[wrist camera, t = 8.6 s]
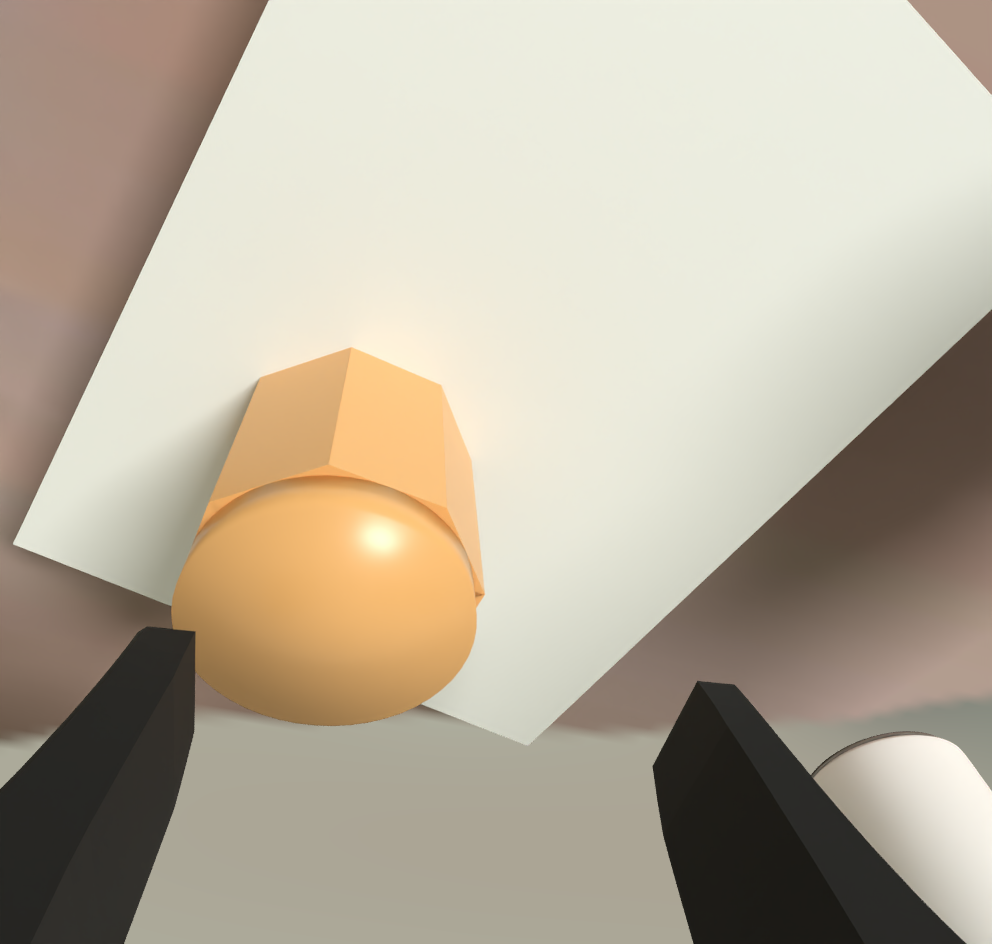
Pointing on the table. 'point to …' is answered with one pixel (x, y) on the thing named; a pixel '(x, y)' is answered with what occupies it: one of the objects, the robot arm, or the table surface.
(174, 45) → the table surface
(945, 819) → the can
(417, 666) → the cap
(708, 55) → the junction box
